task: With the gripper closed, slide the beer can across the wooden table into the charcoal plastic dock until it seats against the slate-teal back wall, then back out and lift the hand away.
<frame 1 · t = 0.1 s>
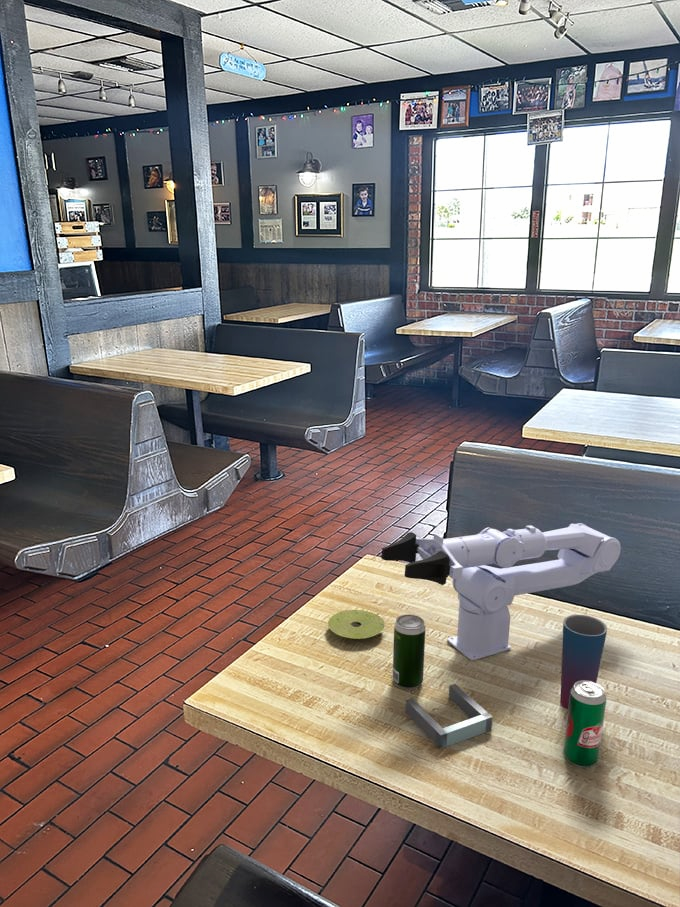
hand: (393, 562, 123), 22 cm above the table, tool horizontal, fingers open, 7 cm apart
dock: (447, 721, 116), on the table
cup: (575, 705, 120), on the table
beer can: (407, 683, 126), on the table
soda can: (580, 758, 108), on the table
green disc with hole: (356, 632, 142), on the table
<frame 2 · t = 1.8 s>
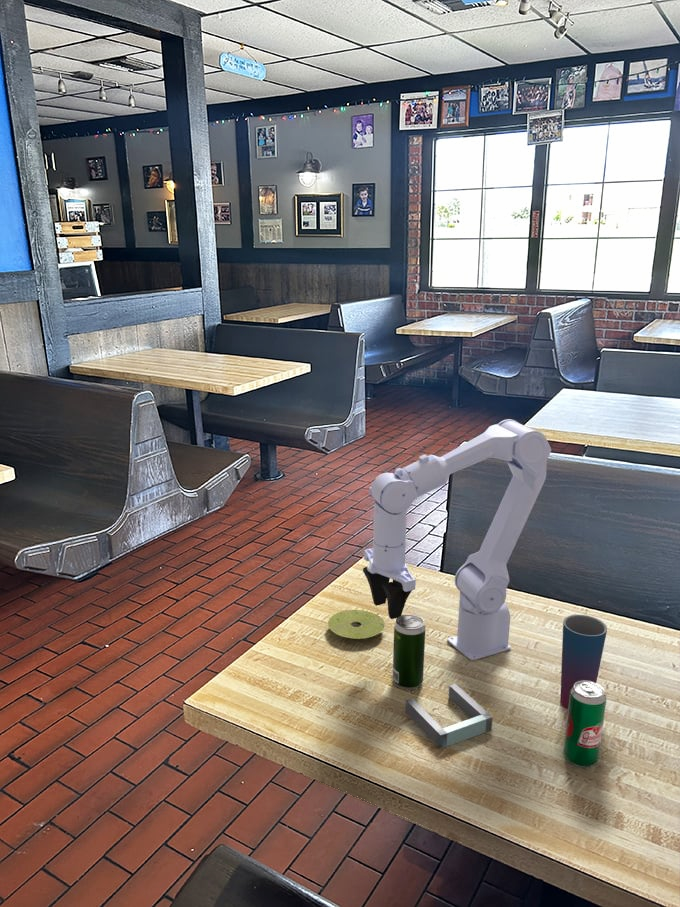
hand: (387, 610, 129), 10 cm above the table, tool pointing down, fingers open, 5 cm apart
nothing on the table moved.
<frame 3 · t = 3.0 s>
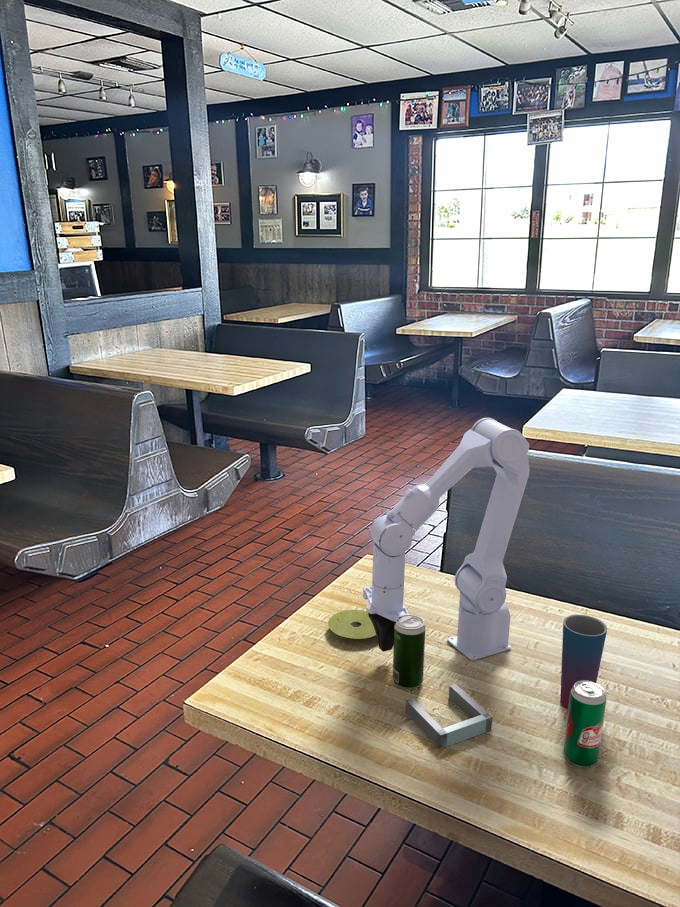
hand: (385, 648, 131), 3 cm above the table, tool pointing down, fingers closed
nothing on the table moved.
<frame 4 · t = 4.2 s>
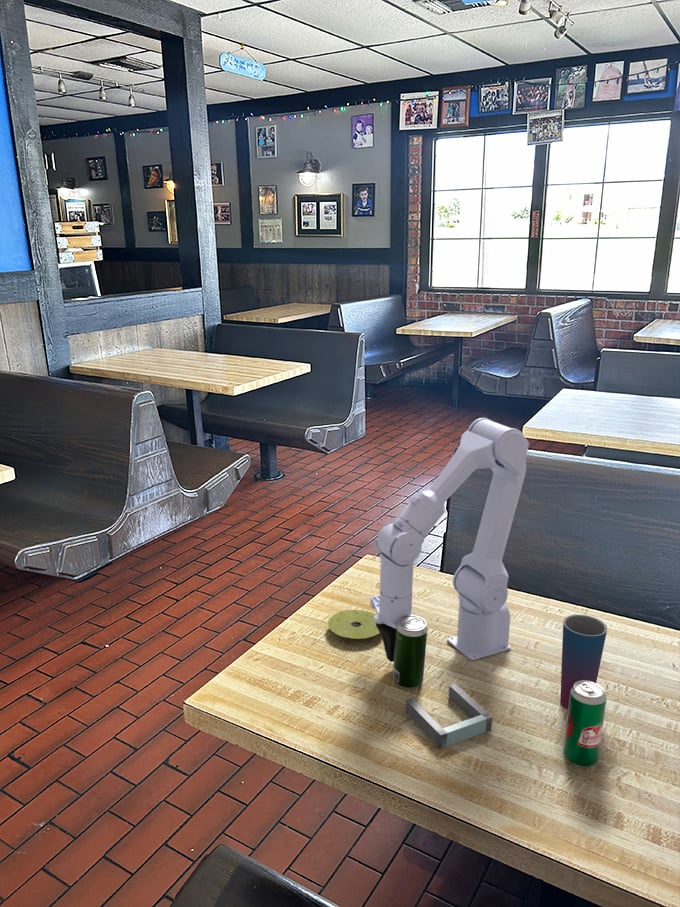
hand: (393, 659, 129), 2 cm above the table, tool pointing down, fingers closed
beer can: (407, 682, 126), on the table, touching gripper
everything else where it was.
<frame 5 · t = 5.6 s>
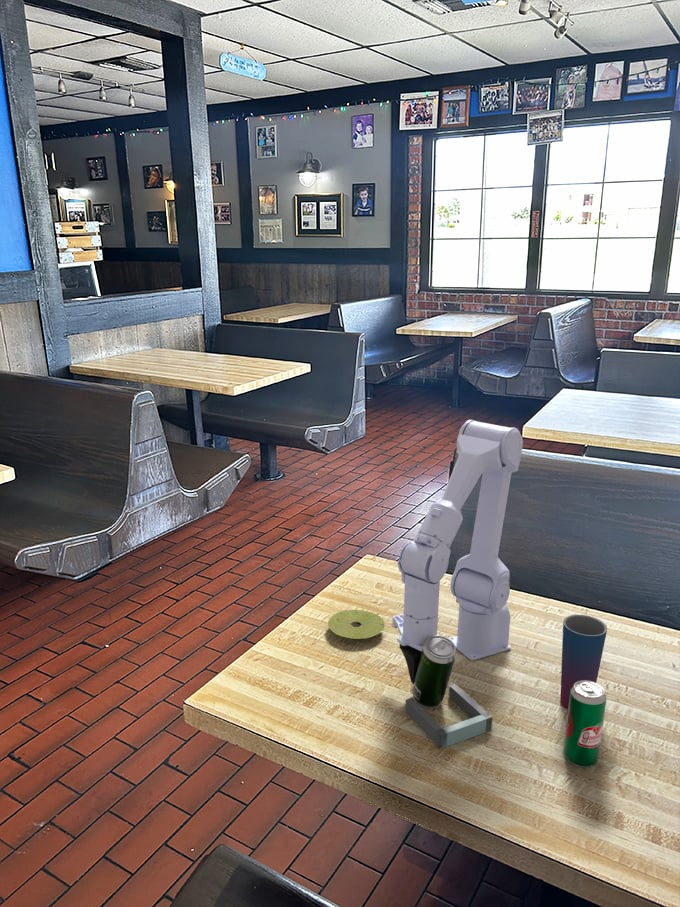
hand: (417, 682, 123), 2 cm above the table, tool pointing down, fingers closed
beer can: (426, 697, 121), point 1 cm above the table, touching gripper
everything else where it was.
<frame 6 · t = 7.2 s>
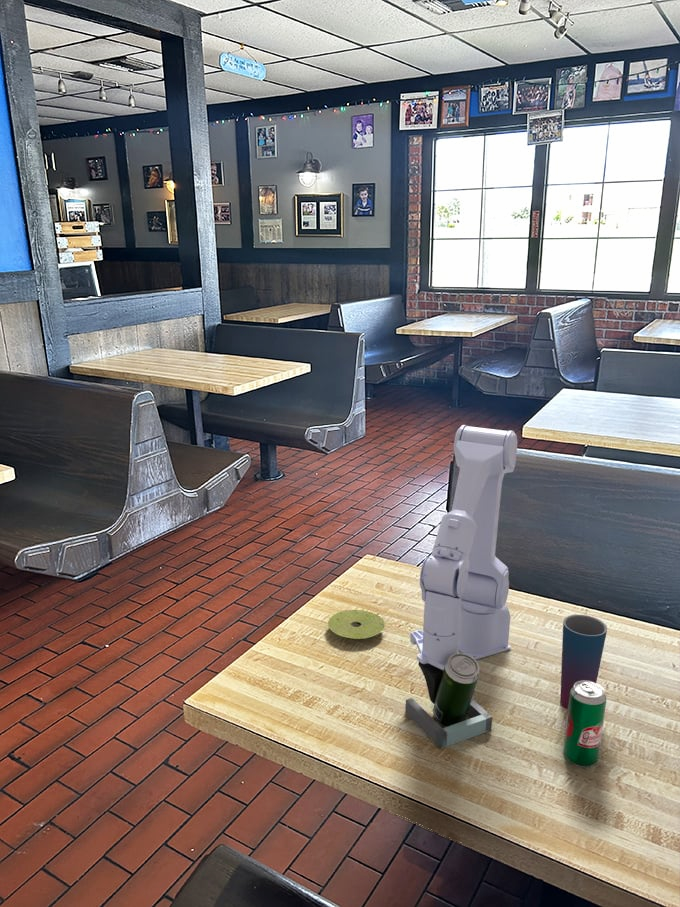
hand: (437, 700, 118), 2 cm above the table, tool pointing down, fingers closed
beer can: (448, 717, 116), point 1 cm above the table, touching gripper
everything else where it was.
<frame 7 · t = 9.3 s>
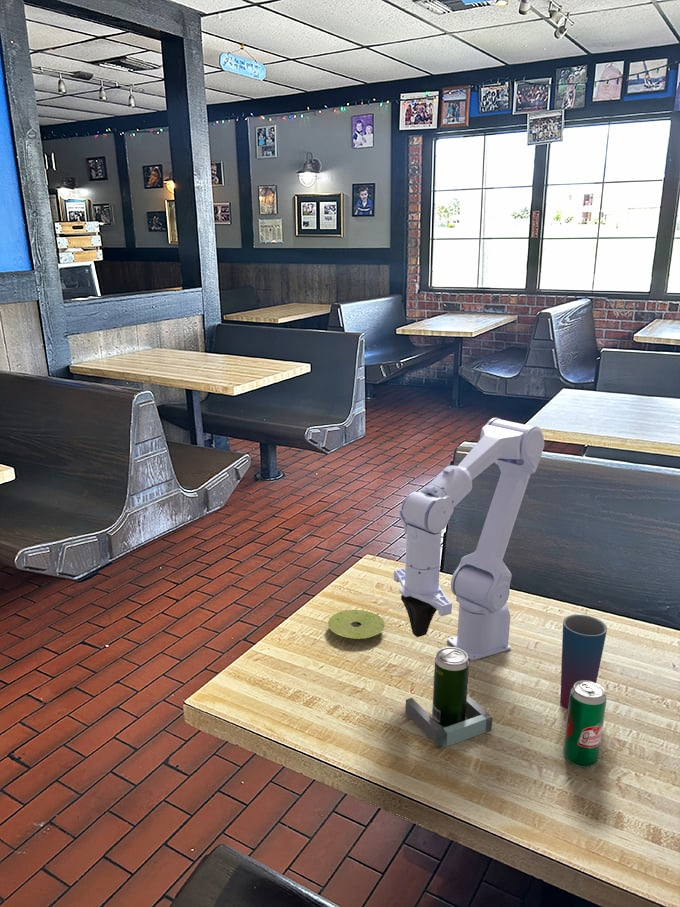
hand: (419, 634, 124), 9 cm above the table, tool pointing down, fingers closed
beer can: (448, 721, 116), resting in dock
everything else where it was.
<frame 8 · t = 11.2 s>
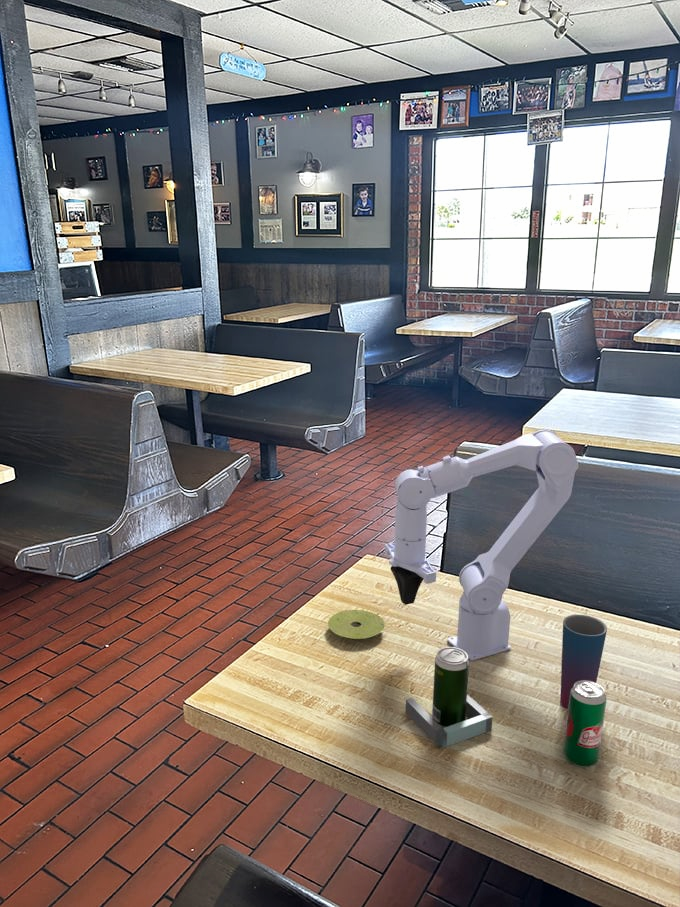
hand: (407, 602, 134), 9 cm above the table, tool pointing down, fingers closed
nothing on the table moved.
at the end: beer can 0.8 cm off-centre on the dock, point 0.0 cm above the dock's base; beer can tilted 0°; beer can moved 11.9 cm from its start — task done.
